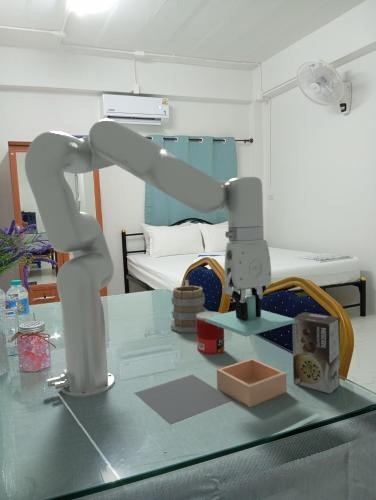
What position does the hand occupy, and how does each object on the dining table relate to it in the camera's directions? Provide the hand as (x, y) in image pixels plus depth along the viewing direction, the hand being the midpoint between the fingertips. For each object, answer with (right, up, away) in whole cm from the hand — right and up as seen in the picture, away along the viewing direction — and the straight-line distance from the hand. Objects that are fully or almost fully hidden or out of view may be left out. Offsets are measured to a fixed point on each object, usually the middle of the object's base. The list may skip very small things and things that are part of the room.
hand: (248, 316), depth 86 cm
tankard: (-13, -12, +55) cm, 58 cm away
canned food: (-7, -15, +28) cm, 33 cm away
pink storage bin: (+1, -18, +2) cm, 18 cm away
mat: (-15, -18, 0) cm, 23 cm away
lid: (0, -1, 0) cm, 1 cm away
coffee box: (+17, -17, +5) cm, 24 cm away
